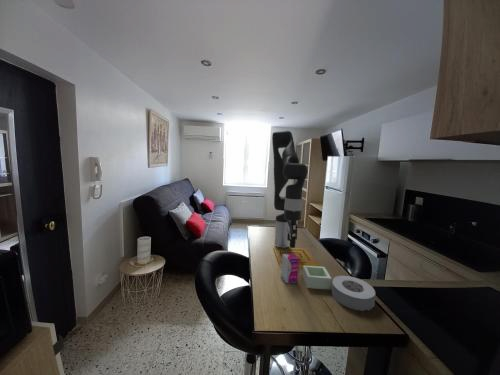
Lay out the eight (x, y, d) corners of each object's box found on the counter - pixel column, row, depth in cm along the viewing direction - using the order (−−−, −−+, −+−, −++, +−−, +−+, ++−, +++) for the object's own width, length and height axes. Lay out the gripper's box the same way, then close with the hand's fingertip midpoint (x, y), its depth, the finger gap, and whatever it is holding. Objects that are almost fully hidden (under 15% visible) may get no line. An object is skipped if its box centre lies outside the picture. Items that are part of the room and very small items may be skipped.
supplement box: (286, 284, 85) (287, 259, 84) (280, 277, 90) (281, 253, 89) (298, 283, 86) (299, 258, 85) (291, 276, 92) (293, 252, 91)
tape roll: (363, 317, 67) (364, 304, 66) (323, 294, 79) (324, 282, 79) (381, 301, 76) (382, 289, 76) (343, 282, 88) (344, 271, 88)
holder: (302, 275, 93) (303, 265, 92) (323, 276, 92) (324, 266, 92) (307, 287, 83) (307, 276, 82) (330, 289, 82) (331, 278, 82)
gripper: (282, 205, 93) (281, 238, 94) (286, 211, 79) (284, 249, 80) (298, 206, 92) (296, 238, 94) (304, 212, 78) (302, 250, 79)
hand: (290, 243), depth 87 cm, fingers open, 8 cm apart
